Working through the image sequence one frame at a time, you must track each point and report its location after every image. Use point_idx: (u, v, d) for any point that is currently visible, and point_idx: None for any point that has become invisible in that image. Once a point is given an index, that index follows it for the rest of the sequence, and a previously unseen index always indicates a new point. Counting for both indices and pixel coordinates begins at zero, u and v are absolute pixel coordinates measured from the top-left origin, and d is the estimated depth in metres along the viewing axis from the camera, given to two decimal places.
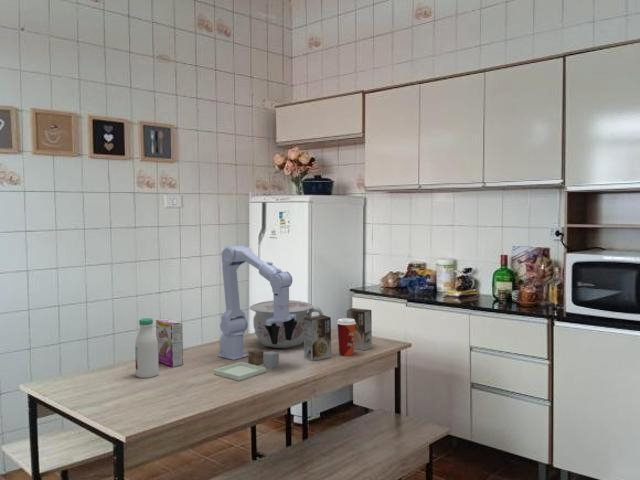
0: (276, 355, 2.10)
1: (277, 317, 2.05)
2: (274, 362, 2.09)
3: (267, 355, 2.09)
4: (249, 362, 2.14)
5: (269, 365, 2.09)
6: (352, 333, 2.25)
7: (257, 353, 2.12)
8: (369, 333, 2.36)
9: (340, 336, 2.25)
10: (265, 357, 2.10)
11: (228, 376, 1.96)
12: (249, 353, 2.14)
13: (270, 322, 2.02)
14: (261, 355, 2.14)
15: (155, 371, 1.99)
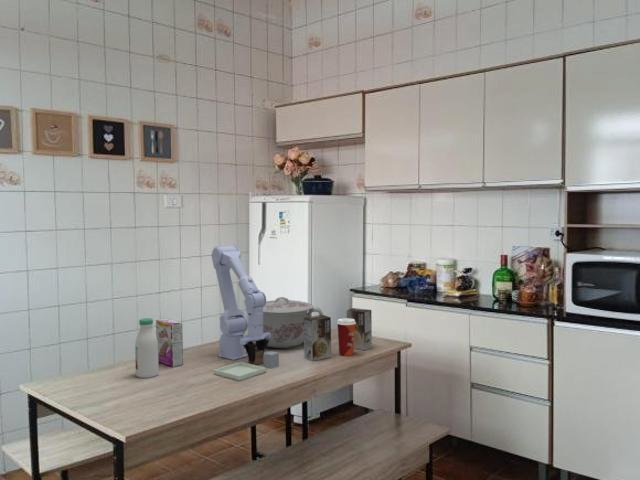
0: (276, 355, 2.10)
1: (251, 336, 2.11)
2: (274, 362, 2.09)
3: (267, 355, 2.09)
4: (249, 362, 2.14)
5: (269, 365, 2.09)
6: (352, 333, 2.25)
7: (257, 353, 2.12)
8: (369, 333, 2.36)
9: (340, 336, 2.25)
10: (265, 357, 2.10)
11: (228, 376, 1.96)
12: None
13: (244, 341, 2.08)
14: (261, 355, 2.14)
15: (155, 371, 1.99)
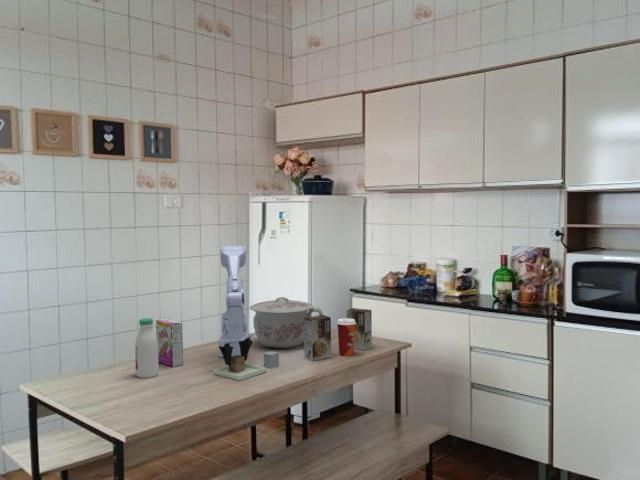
0: (276, 355, 2.10)
1: (231, 337, 2.01)
2: (274, 362, 2.09)
3: (267, 355, 2.09)
4: (229, 369, 2.03)
5: (269, 365, 2.09)
6: (352, 333, 2.25)
7: (238, 359, 2.01)
8: (369, 333, 2.36)
9: (340, 336, 2.25)
10: (265, 357, 2.10)
11: (228, 376, 1.96)
12: None
13: (223, 343, 1.97)
14: (242, 361, 2.03)
15: (155, 371, 1.99)
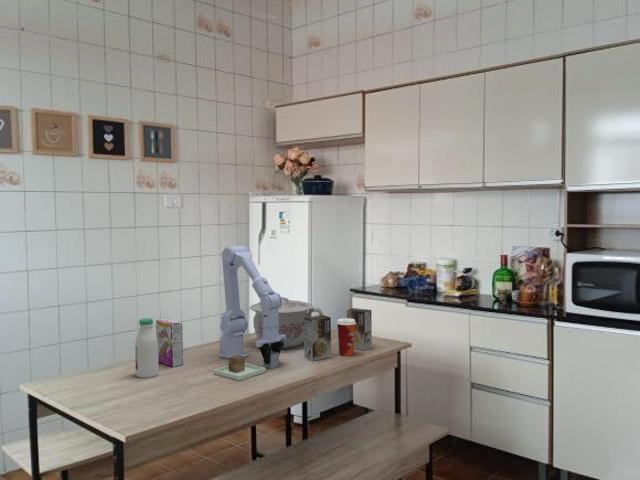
0: (276, 355, 2.10)
1: (267, 338, 2.08)
2: (274, 362, 2.09)
3: None
4: (229, 369, 2.03)
5: (269, 365, 2.09)
6: (352, 333, 2.25)
7: (238, 359, 2.01)
8: (369, 333, 2.36)
9: (340, 336, 2.25)
10: None
11: (228, 376, 1.96)
12: (229, 359, 2.03)
13: (260, 343, 2.04)
14: (242, 361, 2.03)
15: (155, 371, 1.99)
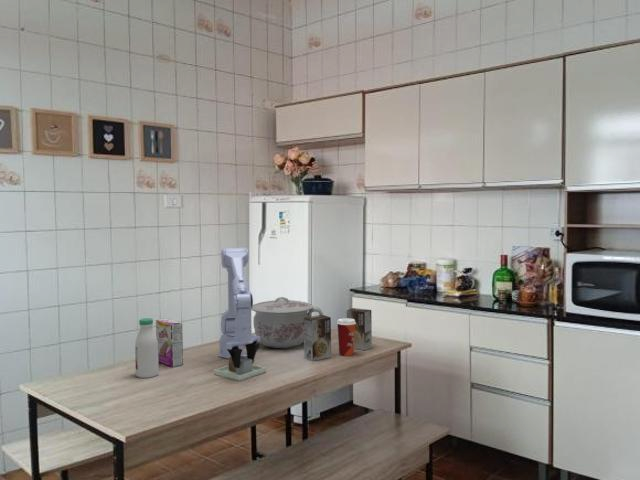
0: (249, 362, 1.99)
1: (238, 340, 1.97)
2: (247, 369, 1.98)
3: (240, 362, 1.98)
4: (229, 369, 2.03)
5: (241, 373, 1.98)
6: (352, 333, 2.25)
7: None
8: (369, 333, 2.36)
9: (340, 336, 2.25)
10: None
11: (228, 376, 1.96)
12: (229, 359, 2.03)
13: (230, 345, 1.93)
14: None
15: (155, 371, 1.99)
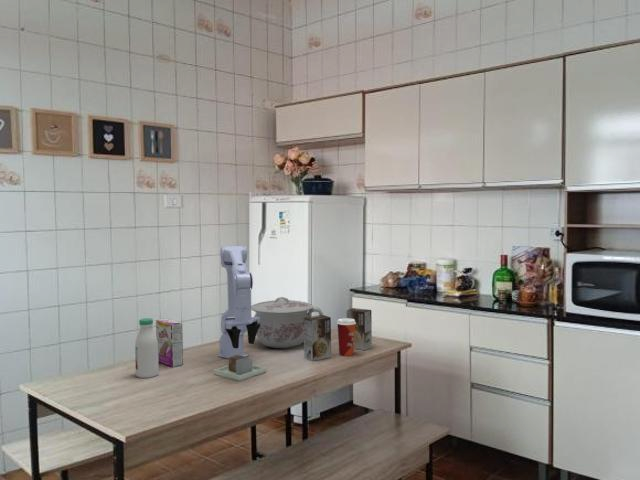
0: (249, 362, 1.99)
1: (238, 320, 1.96)
2: (247, 369, 1.98)
3: (240, 362, 1.98)
4: (229, 369, 2.03)
5: (241, 373, 1.98)
6: (352, 333, 2.25)
7: None
8: (369, 333, 2.36)
9: (340, 336, 2.25)
10: (238, 364, 1.99)
11: (228, 376, 1.96)
12: (229, 359, 2.03)
13: (230, 325, 1.93)
14: None
15: (155, 371, 1.99)
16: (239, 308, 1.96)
